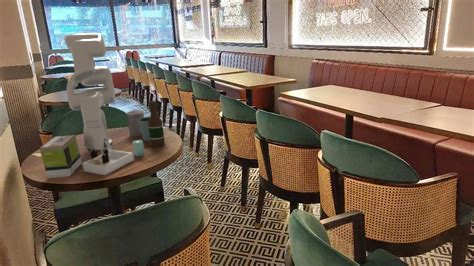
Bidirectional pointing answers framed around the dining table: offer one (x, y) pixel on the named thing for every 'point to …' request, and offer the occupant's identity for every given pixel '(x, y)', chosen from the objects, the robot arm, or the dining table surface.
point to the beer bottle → (155, 127)
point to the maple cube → (99, 161)
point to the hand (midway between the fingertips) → (100, 161)
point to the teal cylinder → (138, 148)
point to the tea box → (61, 156)
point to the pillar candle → (134, 122)
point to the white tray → (116, 162)
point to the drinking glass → (144, 128)
